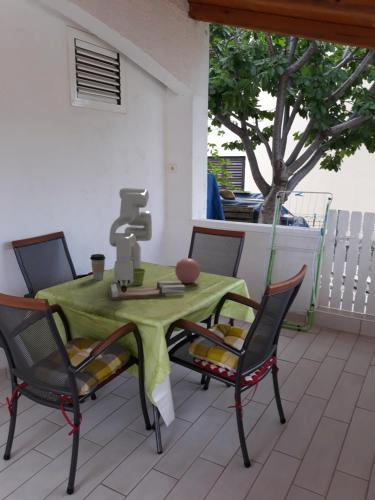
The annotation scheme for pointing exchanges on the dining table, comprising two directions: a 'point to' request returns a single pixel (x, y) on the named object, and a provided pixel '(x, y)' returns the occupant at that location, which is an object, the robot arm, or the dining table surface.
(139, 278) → the plant pot
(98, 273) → the coffee cup
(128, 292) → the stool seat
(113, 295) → the folding leg
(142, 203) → the robot arm
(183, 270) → the balloon
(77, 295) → the dining table surface
